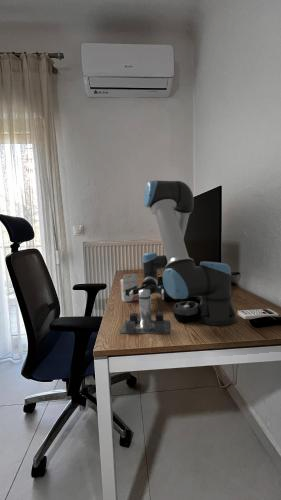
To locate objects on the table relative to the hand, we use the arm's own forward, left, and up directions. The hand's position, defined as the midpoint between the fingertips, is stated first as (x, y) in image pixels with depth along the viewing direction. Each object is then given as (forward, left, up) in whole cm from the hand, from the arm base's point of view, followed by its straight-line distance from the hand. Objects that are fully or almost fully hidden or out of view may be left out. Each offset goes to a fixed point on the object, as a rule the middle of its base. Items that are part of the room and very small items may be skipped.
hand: (146, 296), depth 101 cm
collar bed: (0, +9, -9) cm, 13 cm away
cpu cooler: (-17, 0, -9) cm, 19 cm away
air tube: (0, +9, -9) cm, 13 cm away
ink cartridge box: (+12, -29, -10) cm, 33 cm away
